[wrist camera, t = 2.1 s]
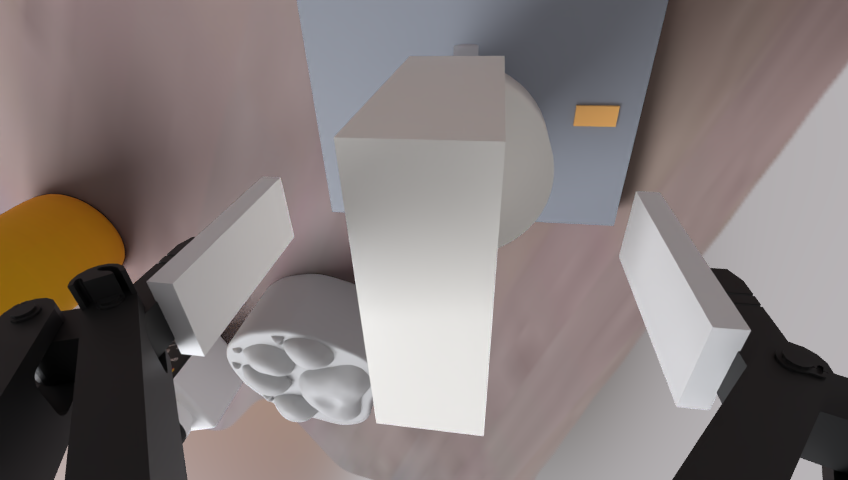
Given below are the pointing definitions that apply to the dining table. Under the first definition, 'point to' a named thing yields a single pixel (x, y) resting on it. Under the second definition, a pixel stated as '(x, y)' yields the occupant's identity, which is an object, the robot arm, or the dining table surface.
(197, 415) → the medicine bottle
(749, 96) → the dining table surface
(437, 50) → the post plinth
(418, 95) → the white round-based slab
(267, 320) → the lumpy-topped squat cylinder
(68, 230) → the beer bottle
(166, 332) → the robot arm
